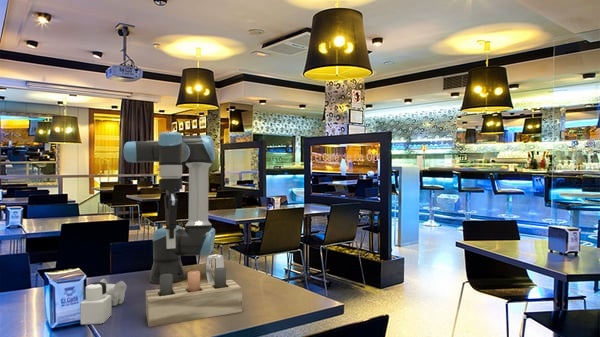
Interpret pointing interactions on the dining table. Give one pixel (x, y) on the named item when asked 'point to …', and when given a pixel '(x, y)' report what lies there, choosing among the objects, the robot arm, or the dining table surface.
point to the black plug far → (219, 278)
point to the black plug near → (166, 284)
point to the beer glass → (213, 265)
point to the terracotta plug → (193, 281)
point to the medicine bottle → (95, 304)
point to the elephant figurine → (115, 292)
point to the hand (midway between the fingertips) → (171, 248)
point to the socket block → (192, 303)
